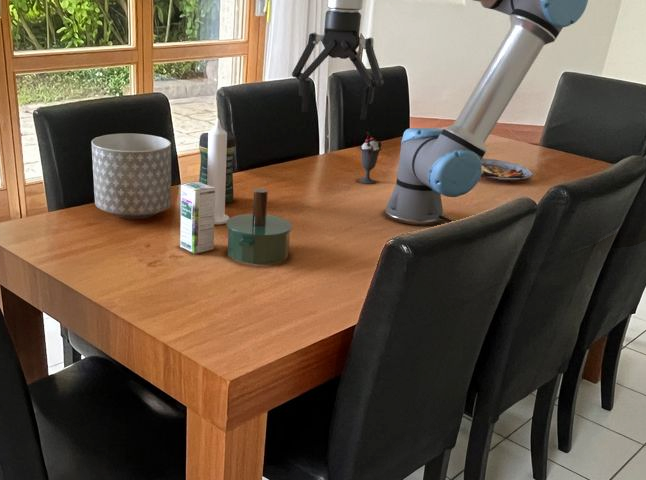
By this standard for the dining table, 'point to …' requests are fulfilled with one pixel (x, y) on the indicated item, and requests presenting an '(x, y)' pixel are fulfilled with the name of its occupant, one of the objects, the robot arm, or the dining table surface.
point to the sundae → (369, 157)
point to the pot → (258, 248)
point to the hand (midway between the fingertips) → (333, 115)
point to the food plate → (503, 170)
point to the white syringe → (218, 169)
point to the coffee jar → (229, 163)
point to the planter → (132, 174)
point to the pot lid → (259, 220)
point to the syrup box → (197, 217)
